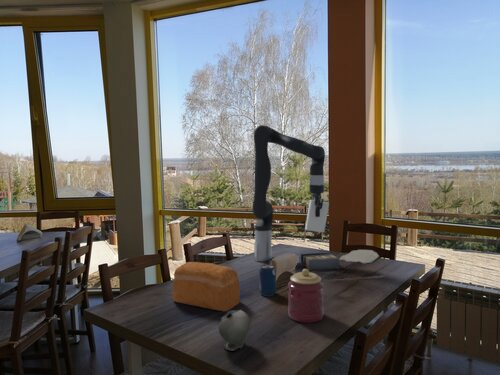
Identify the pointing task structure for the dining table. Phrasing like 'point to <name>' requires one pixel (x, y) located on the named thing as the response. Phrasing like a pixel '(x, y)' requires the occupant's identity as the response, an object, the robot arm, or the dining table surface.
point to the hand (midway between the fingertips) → (316, 216)
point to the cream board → (313, 221)
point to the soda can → (267, 280)
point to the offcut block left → (311, 259)
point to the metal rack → (320, 261)
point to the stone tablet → (360, 256)
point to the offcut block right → (327, 257)
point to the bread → (206, 286)
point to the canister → (305, 297)
